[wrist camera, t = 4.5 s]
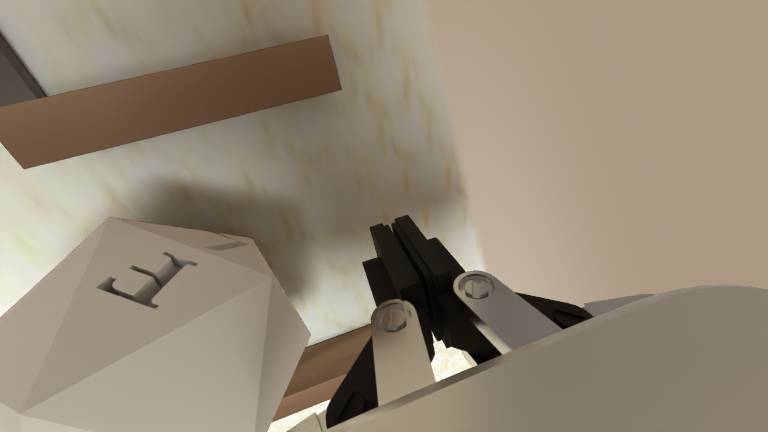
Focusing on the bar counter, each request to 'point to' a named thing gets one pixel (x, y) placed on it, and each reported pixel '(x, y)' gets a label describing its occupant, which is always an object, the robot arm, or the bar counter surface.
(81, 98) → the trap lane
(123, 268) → the die
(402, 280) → the robot arm
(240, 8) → the bar counter surface
